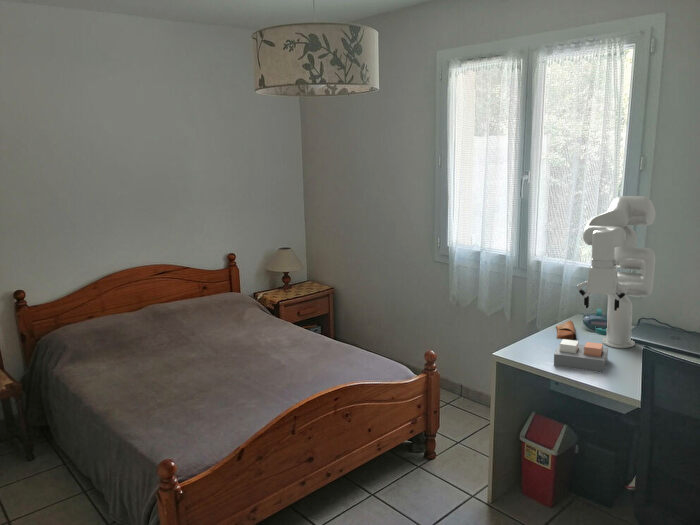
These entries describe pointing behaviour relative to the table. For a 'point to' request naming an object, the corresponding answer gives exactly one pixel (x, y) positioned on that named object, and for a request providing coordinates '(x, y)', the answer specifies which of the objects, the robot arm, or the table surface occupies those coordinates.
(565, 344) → the offwhite key
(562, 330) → the sunglasses case
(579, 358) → the key console
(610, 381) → the table surface
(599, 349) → the orange square block
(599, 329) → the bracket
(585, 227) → the robot arm
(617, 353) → the table surface
